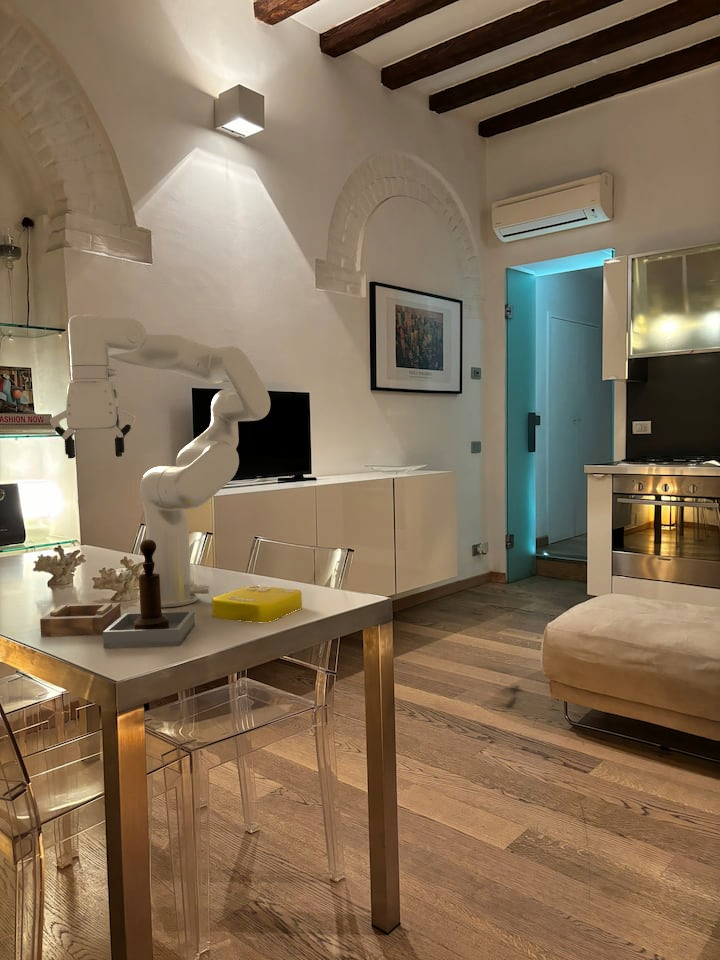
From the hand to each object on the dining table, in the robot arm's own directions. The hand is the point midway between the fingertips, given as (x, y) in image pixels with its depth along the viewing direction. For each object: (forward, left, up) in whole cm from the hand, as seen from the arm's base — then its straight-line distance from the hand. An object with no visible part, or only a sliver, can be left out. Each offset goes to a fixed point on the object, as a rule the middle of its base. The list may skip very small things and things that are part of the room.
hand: (95, 457), depth 154 cm
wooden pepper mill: (-14, +15, -34) cm, 40 cm away
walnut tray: (+2, +7, -35) cm, 35 cm away
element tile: (-33, -1, -35) cm, 48 cm away
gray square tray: (-14, +15, -35) cm, 40 cm away
